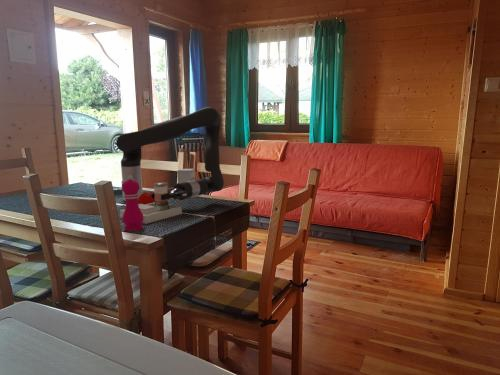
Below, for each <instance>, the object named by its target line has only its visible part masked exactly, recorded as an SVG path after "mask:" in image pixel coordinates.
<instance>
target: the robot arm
mask: <svg viewBox="0 0 500 375" xmlns="http://www.w3.org/2000/svg"><path fill="white" fill-rule="evenodd" d="M221 121H222V116H221V115H220V112H219V111H218V110H217V109H216V108H215V107H212V106H206V107H203V108H200V109H198V110H196V111H193V112H191V113H188V114H185V115H181V116H177V117H174V118H171V119H168V120H164V121H161V122H158V123H156V124H153V125H150V126H147V127H146V128H143V129H140V130H137V131H132V132H126V133H122V134H120V135H118V137H117V139H116V141H115V142H116V143H115V144H116V147H117V149H118V150H119V151H121V152H122V154H123V155H122V159H121V160H120V168H121V185H122V184H123V183H124V182H125V181H127V180H128V179H127V177H128V176H132V177H133V179H132V180H135V181H137V182H138V183H139V187H140V188H139V191H138V192H137V193H138V196H140V195H141V194H142V193H144V192H143V178H142V177H143V176H142V166H141V162H142V147H144V146H147V145H152V144H159V143H164V142H169V141H171V140H175V139H178V138H180V137H182V136H183V135H185V134H186V133H188V132H190V131H191V130H195V129H199V128H205V134H206V137H205V139H206V140H205V148H204V170H205V172H209V173H210V174H211V176H208V177H207V176H206V177H203V178H201V179H195V180H194V181H186V182H181V183H178V182H177V183H176V184H175V185H174V187H169V188H168V193H167V194H163V195H161V200H167V199H169V200H179V201H183V200H188V199H193V198H196V197H197V196H201V195H205V194H206V193H213V192H215V193H216V192H220V191H222V190H223V188H224V186H225V182H224V180H225V179H224V176H223V174H222V170H221V168H220V166H221V165H220V163H221V162H220V160H221V159H220V129H221ZM121 192H122V194H121V195H122V200H123V202H126V200H125V198H124V194H125V193H124V192H123V191H122V190H121ZM138 198H139V197H138ZM151 198H152V199H154V198H155V195H154V193H151Z"/></svg>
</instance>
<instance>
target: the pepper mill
mask: <svg viewBox="0 0 500 375" xmlns="http://www.w3.org/2000/svg"><path fill="white" fill-rule="evenodd" d="M127 179H128V180H127V181H125V182H124V183H123V184H122V183H121V192H122V191H123V192H124V193H125V194H124V198H125V200H126V201H125V211H124V214H123V217H122V218H121V219H122V223H123V224H124V227H123V228H124V231H128V232H131V231H139V230H141V229H143V228H144V225H143V223H142V222H143V220H144V218H143V214H142V212H141V210H140V208H139V206H138V197H139V196H138V193H137V192H138V191H139V188H140V187H139V183H138V182H137V181H135V180H132V179H133V177H132V176H128V177H127Z"/></svg>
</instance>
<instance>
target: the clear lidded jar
mask: <svg viewBox="0 0 500 375" xmlns="http://www.w3.org/2000/svg"><path fill="white" fill-rule="evenodd" d="M168 184H169V183H168V182H165V181H164V182H154V183H153V192H154V195H155V208H157V212H160V211H164V210H168V209H169V204H170V201H169V200H170V199H167V200H161V195H163V194H167V193H168V189H169V188H168V187H169V186H168Z"/></svg>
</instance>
